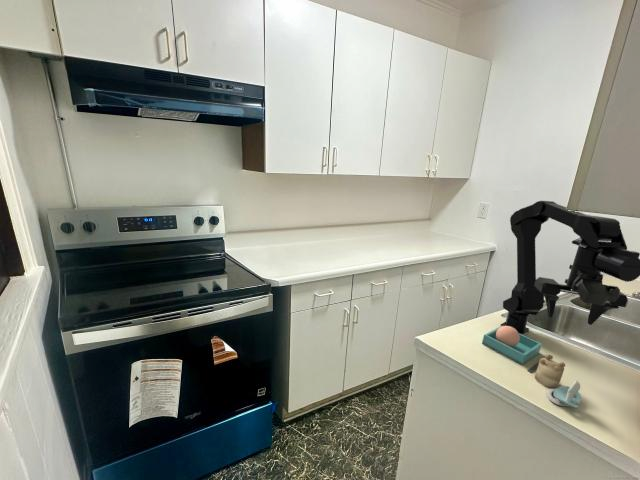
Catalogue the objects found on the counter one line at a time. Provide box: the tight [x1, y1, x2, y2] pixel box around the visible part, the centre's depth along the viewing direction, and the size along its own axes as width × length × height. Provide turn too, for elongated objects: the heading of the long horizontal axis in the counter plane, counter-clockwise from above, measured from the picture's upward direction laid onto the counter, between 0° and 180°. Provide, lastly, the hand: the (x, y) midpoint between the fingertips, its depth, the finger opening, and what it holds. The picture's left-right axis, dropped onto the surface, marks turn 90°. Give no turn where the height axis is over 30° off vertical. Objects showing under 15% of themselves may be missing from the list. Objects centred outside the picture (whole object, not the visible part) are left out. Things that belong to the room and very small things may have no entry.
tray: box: [481, 325, 543, 366], centre depth 93 cm, size 11×11×3 cm
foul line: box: [527, 354, 553, 374], centre depth 87 cm, size 14×1×1 cm, turn 125°
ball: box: [496, 326, 520, 347], centre depth 93 cm, size 6×6×6 cm
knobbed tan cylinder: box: [534, 354, 566, 389], centre depth 79 cm, size 5×5×6 cm
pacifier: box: [546, 380, 582, 409], centre depth 73 cm, size 7×6×6 cm
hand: (569, 320), depth 85 cm, fingers open, 9 cm apart
